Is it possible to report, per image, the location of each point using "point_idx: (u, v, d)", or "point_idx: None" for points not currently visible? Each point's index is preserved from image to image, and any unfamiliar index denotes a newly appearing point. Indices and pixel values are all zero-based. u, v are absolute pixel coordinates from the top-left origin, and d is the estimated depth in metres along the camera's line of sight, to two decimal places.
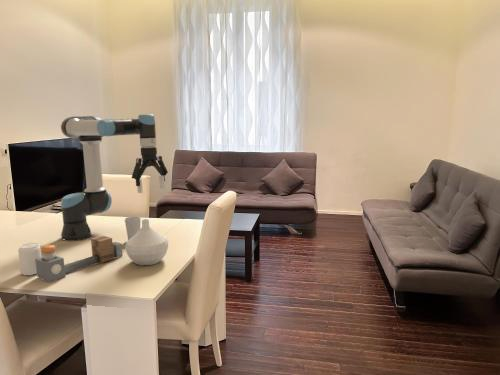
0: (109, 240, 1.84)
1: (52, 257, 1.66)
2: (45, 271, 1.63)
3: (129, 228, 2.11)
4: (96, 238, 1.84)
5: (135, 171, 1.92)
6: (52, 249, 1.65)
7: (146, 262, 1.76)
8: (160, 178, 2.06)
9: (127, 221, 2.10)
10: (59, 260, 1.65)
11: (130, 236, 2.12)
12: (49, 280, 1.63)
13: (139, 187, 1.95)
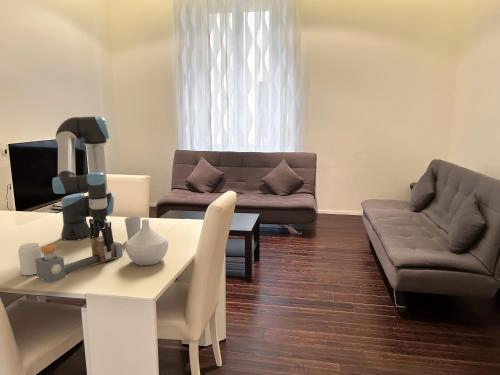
0: None
1: (52, 257, 1.66)
2: (45, 271, 1.63)
3: (129, 228, 2.11)
4: (96, 238, 1.84)
5: None
6: (52, 249, 1.65)
7: (146, 262, 1.76)
8: None
9: (127, 221, 2.10)
10: (59, 260, 1.65)
11: (130, 236, 2.12)
12: (49, 280, 1.63)
13: None
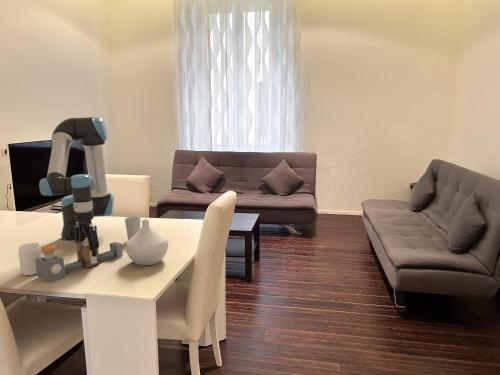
0: None
1: (52, 257, 1.66)
2: (45, 271, 1.63)
3: (129, 228, 2.11)
4: (81, 243, 1.79)
5: None
6: (52, 249, 1.65)
7: (146, 262, 1.76)
8: None
9: (127, 221, 2.10)
10: (59, 260, 1.65)
11: (130, 236, 2.12)
12: (49, 280, 1.63)
13: None
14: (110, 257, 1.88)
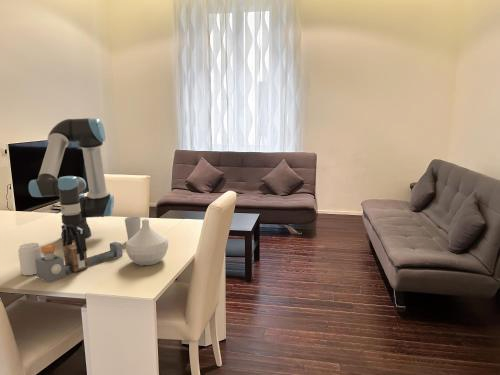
0: None
1: (52, 257, 1.66)
2: (45, 271, 1.63)
3: (129, 228, 2.11)
4: (69, 246, 1.74)
5: None
6: (52, 249, 1.65)
7: (146, 262, 1.76)
8: None
9: (127, 221, 2.10)
10: (59, 260, 1.65)
11: (130, 236, 2.12)
12: (49, 280, 1.63)
13: None
14: (110, 257, 1.88)
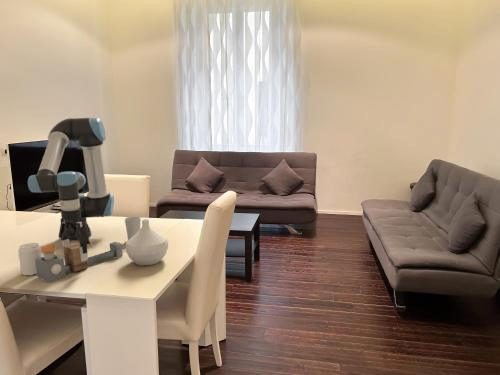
0: None
1: (52, 257, 1.66)
2: (45, 271, 1.63)
3: (129, 228, 2.11)
4: (69, 246, 1.74)
5: None
6: (52, 249, 1.65)
7: (146, 262, 1.76)
8: None
9: (127, 221, 2.10)
10: (59, 260, 1.65)
11: (130, 236, 2.12)
12: (49, 280, 1.63)
13: None
14: (110, 257, 1.88)
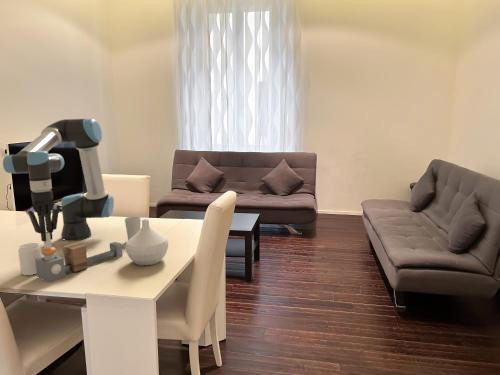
0: (82, 248, 1.74)
1: (52, 259, 1.66)
2: (45, 271, 1.63)
3: (129, 228, 2.11)
4: (69, 246, 1.74)
5: (34, 226, 1.60)
6: (52, 251, 1.65)
7: (146, 262, 1.76)
8: None
9: (127, 221, 2.10)
10: (59, 260, 1.65)
11: (130, 236, 2.12)
12: (49, 280, 1.63)
13: (45, 242, 1.64)
14: (110, 257, 1.88)
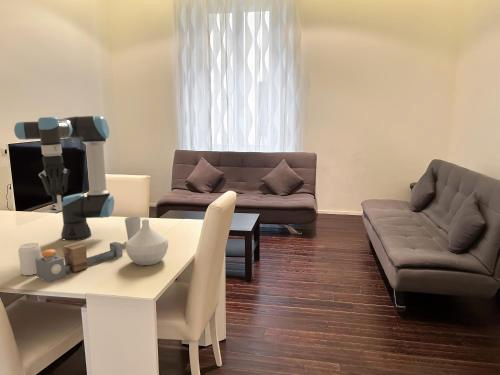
0: (82, 248, 1.74)
1: None
2: (45, 271, 1.63)
3: (129, 228, 2.11)
4: (69, 246, 1.74)
5: (46, 188, 1.69)
6: (52, 253, 1.65)
7: (146, 262, 1.76)
8: None
9: (127, 221, 2.10)
10: (59, 260, 1.65)
11: (130, 236, 2.12)
12: (49, 280, 1.63)
13: (56, 204, 1.74)
14: (110, 257, 1.88)
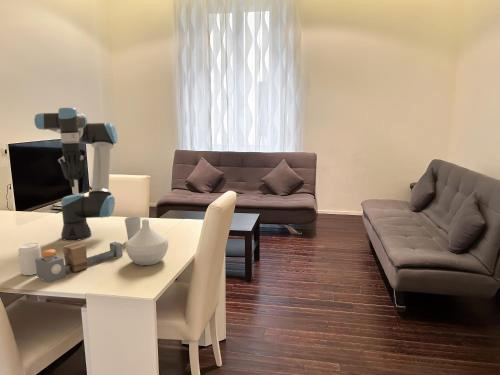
0: (82, 248, 1.74)
1: None
2: (45, 271, 1.63)
3: (129, 228, 2.11)
4: (69, 246, 1.74)
5: (64, 172, 1.85)
6: (52, 253, 1.65)
7: (146, 262, 1.76)
8: None
9: (127, 221, 2.10)
10: (59, 260, 1.65)
11: (130, 236, 2.12)
12: (49, 280, 1.63)
13: (73, 188, 1.89)
14: (110, 257, 1.88)
